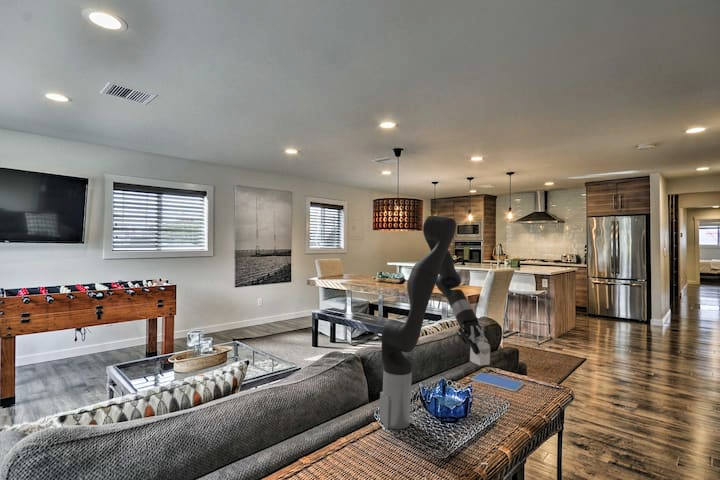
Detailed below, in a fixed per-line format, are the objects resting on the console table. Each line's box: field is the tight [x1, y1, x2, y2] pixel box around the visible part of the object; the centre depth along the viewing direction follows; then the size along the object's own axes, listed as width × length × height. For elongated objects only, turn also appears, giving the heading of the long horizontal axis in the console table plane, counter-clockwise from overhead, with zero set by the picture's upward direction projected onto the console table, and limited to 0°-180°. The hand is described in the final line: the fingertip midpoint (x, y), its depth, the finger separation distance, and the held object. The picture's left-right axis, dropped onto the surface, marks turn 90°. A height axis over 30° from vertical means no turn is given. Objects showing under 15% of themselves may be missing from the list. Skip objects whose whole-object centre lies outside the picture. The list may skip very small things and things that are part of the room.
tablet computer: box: [470, 372, 525, 393], centre depth 166 cm, size 19×13×1 cm, turn 50°
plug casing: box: [469, 336, 491, 366], centre depth 141 cm, size 4×6×9 cm
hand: (483, 352), depth 139 cm, fingers closed on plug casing, 4 cm apart
